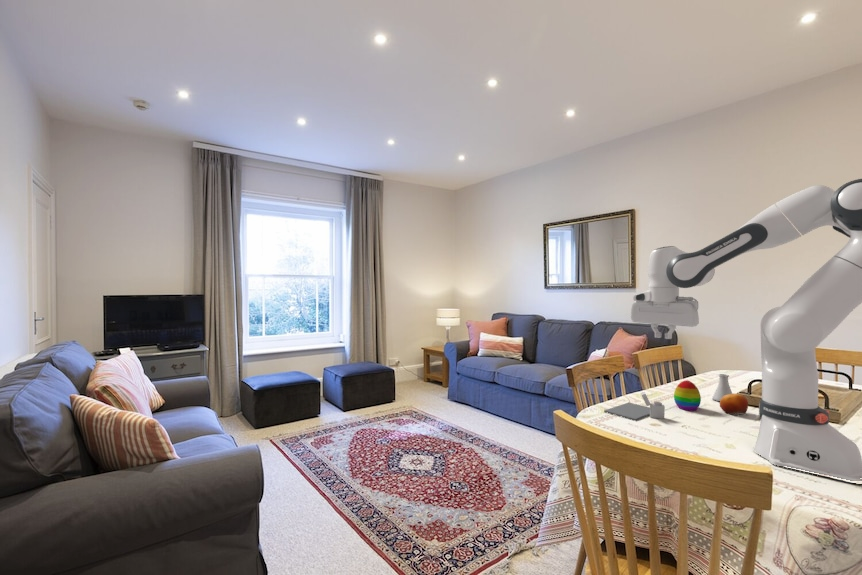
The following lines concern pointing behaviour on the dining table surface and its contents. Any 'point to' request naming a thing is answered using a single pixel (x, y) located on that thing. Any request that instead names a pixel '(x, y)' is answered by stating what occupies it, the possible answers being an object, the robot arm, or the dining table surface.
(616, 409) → the mat
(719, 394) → the flask
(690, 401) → the decorative egg
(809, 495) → the dining table surface
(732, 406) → the fruit
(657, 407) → the lighter
